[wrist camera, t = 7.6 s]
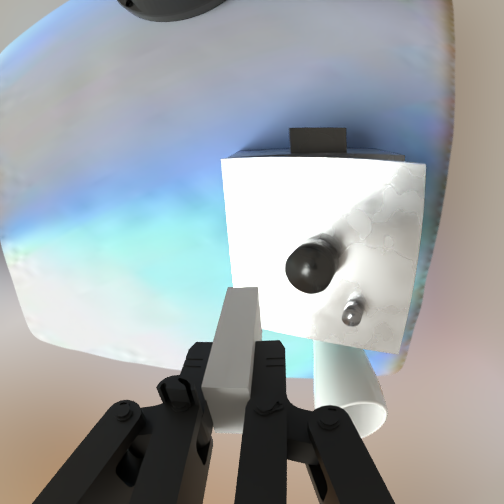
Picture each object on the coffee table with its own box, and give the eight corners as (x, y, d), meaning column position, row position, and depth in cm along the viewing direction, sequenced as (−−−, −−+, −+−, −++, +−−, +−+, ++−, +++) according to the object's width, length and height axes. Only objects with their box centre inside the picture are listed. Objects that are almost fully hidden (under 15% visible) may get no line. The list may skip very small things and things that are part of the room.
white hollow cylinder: (344, 298, 35) (376, 390, 22) (365, 334, 37) (396, 423, 23) (295, 324, 37) (303, 421, 23) (320, 357, 39) (334, 449, 25)
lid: (227, 158, 22) (205, 162, 20) (425, 163, 16) (428, 168, 14) (241, 317, 27) (225, 334, 25) (399, 348, 21) (395, 371, 19)
